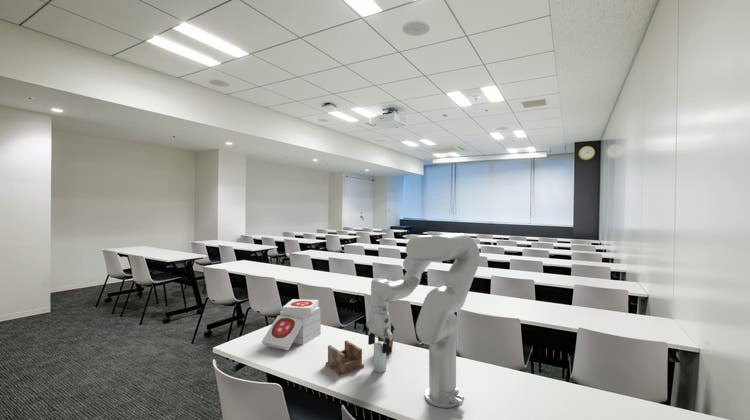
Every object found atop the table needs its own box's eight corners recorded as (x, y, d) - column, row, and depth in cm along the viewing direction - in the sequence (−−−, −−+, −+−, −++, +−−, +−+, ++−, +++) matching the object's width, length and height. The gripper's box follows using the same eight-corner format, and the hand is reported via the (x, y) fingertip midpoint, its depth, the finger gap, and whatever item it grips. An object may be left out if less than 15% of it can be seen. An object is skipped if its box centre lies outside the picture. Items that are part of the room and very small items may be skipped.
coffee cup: (395, 348, 160) (395, 321, 160) (394, 356, 151) (394, 328, 151) (377, 347, 160) (377, 321, 160) (375, 355, 152) (375, 327, 152)
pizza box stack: (258, 348, 160) (258, 311, 160) (298, 328, 187) (298, 296, 187) (289, 356, 151) (289, 317, 151) (326, 334, 178) (326, 300, 178)
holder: (364, 367, 141) (364, 348, 141) (340, 375, 134) (340, 356, 133) (348, 357, 150) (348, 339, 150) (325, 364, 143) (325, 346, 143)
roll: (388, 370, 138) (388, 343, 138) (378, 374, 135) (378, 347, 135) (380, 365, 142) (380, 339, 142) (371, 369, 139) (371, 342, 139)
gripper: (399, 312, 134) (398, 353, 134) (374, 301, 148) (373, 338, 148) (385, 315, 129) (384, 358, 130) (360, 304, 143) (359, 343, 144)
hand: (378, 348), depth 139 cm, fingers open, 9 cm apart
